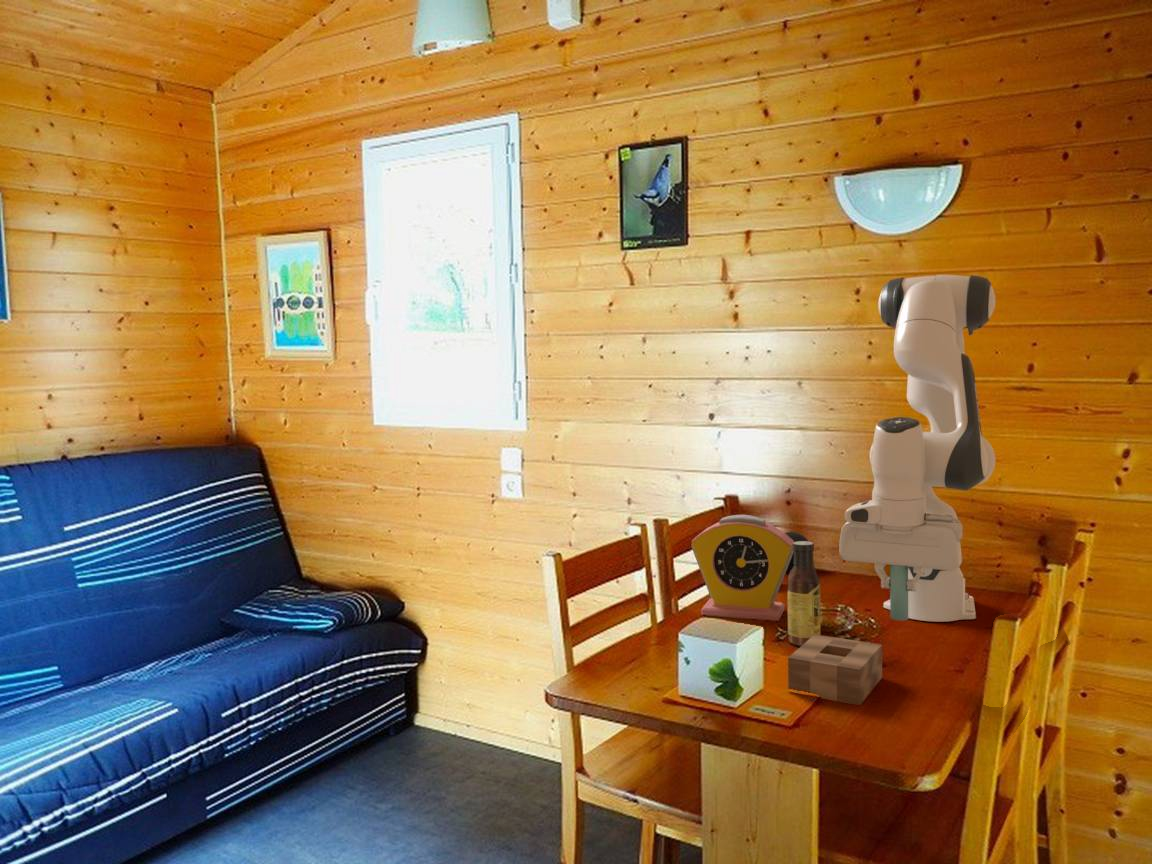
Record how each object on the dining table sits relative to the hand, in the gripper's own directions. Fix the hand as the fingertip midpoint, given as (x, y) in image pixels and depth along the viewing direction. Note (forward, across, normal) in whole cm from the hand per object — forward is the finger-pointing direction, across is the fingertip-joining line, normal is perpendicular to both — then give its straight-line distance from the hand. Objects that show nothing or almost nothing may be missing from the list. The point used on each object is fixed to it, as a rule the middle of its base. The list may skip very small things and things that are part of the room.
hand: (899, 589), depth 162 cm
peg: (+5, 0, 0) cm, 5 cm away
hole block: (+15, +8, +11) cm, 20 cm away
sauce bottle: (+16, +20, -8) cm, 27 cm away
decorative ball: (+17, +41, -61) cm, 75 cm away
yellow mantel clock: (+16, +38, -21) cm, 46 cm away
